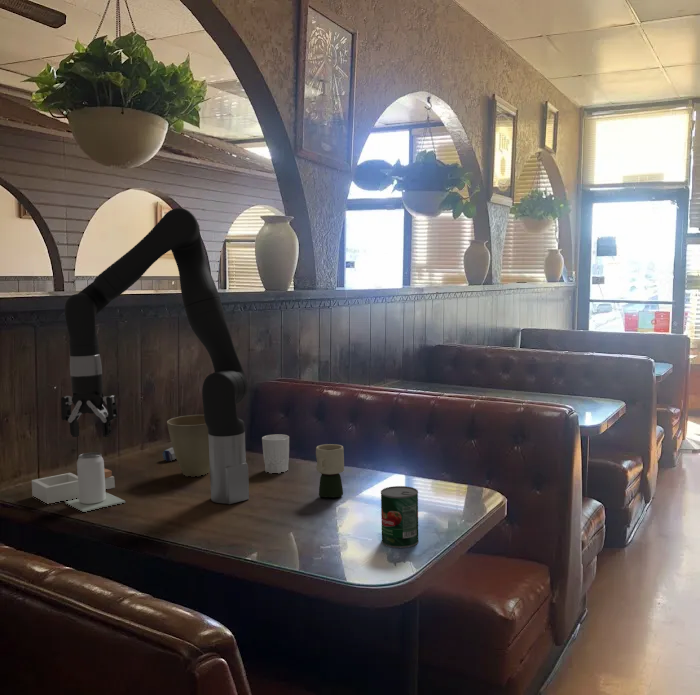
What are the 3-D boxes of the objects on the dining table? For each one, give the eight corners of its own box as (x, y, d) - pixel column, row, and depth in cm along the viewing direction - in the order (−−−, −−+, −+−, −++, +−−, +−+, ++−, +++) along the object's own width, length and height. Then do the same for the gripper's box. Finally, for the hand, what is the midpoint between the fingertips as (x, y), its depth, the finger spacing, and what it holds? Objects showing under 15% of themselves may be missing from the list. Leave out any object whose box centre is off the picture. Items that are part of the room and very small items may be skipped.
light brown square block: (112, 487, 207) (111, 470, 206) (94, 490, 203) (93, 474, 203) (104, 483, 210) (103, 467, 210) (87, 487, 207) (86, 471, 206)
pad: (125, 503, 192) (125, 500, 192) (83, 513, 185) (83, 510, 185) (106, 494, 200) (106, 492, 200) (65, 503, 193) (65, 501, 193)
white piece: (118, 489, 205) (117, 473, 205) (47, 505, 192) (46, 487, 192) (102, 481, 213) (101, 466, 212) (32, 496, 200) (31, 480, 199)
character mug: (329, 489, 200) (328, 441, 198) (353, 492, 196) (352, 443, 195) (308, 500, 190) (306, 450, 189) (332, 504, 187) (331, 453, 186)
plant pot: (161, 473, 221) (158, 419, 219) (207, 464, 229) (205, 412, 228) (182, 483, 209) (179, 427, 207) (230, 474, 217) (228, 419, 216)
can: (109, 501, 192) (106, 455, 191) (83, 506, 188) (80, 459, 187) (101, 495, 197) (99, 450, 196) (76, 500, 194) (73, 454, 192)
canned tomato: (374, 544, 159) (373, 493, 158) (392, 532, 166) (391, 484, 165) (408, 550, 155) (407, 498, 154) (425, 538, 162) (424, 488, 160)
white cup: (275, 475, 215) (274, 441, 214) (257, 471, 220) (256, 437, 219) (295, 470, 220) (294, 436, 219) (277, 465, 226) (276, 433, 225)
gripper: (119, 370, 191) (124, 433, 193) (69, 371, 194) (74, 433, 196) (104, 374, 184) (109, 440, 185) (52, 375, 187) (57, 439, 188)
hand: (91, 436), depth 190 cm, fingers open, 8 cm apart
